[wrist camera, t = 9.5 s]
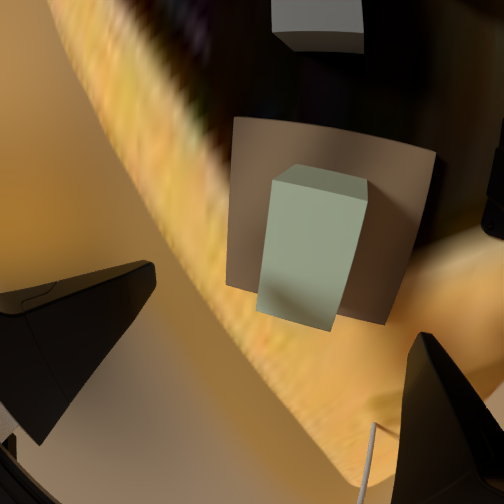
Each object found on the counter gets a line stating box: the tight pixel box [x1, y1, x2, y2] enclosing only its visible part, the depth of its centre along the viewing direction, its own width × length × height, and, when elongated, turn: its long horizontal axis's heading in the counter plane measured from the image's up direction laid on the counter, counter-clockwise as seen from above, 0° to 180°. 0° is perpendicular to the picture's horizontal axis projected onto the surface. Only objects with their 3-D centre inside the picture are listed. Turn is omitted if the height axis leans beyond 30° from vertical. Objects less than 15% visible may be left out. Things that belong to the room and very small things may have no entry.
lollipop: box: [357, 423, 377, 504], centre depth 15 cm, size 6×6×15 cm
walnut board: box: [226, 117, 436, 325], centre depth 16 cm, size 10×10×1 cm
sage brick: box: [256, 164, 368, 332], centre depth 13 cm, size 4×6×4 cm, turn 174°
